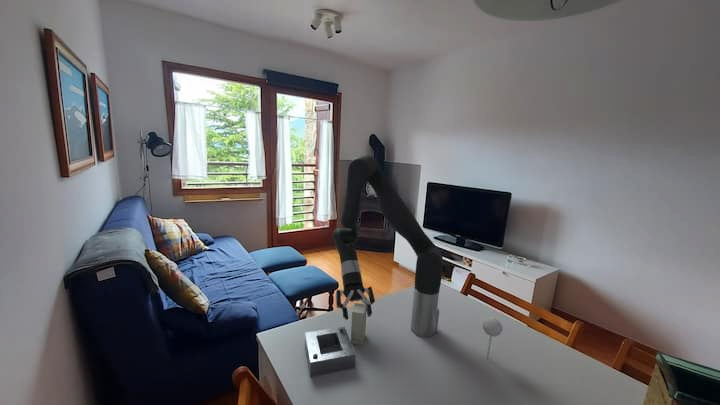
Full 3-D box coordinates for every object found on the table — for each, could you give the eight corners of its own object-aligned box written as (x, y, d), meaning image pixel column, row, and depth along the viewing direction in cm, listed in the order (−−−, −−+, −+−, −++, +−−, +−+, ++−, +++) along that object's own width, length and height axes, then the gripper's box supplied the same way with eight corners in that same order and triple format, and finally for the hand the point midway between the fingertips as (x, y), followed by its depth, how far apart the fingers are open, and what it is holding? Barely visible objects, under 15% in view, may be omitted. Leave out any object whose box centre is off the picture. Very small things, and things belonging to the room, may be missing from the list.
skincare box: (362, 345, 97) (364, 314, 95) (350, 343, 98) (351, 312, 96) (365, 334, 103) (367, 304, 101) (354, 332, 104) (355, 302, 102)
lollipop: (496, 355, 96) (502, 316, 93) (498, 367, 90) (505, 326, 87) (476, 350, 98) (482, 311, 95) (478, 361, 92) (484, 321, 89)
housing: (344, 338, 100) (344, 325, 99) (354, 368, 87) (355, 353, 86) (304, 345, 96) (305, 331, 95) (310, 377, 83) (310, 361, 82)
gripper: (335, 272, 103) (341, 318, 95) (371, 269, 107) (379, 312, 99) (331, 279, 109) (337, 322, 101) (365, 276, 113) (373, 317, 105)
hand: (358, 317), depth 100 cm, fingers open, 8 cm apart
